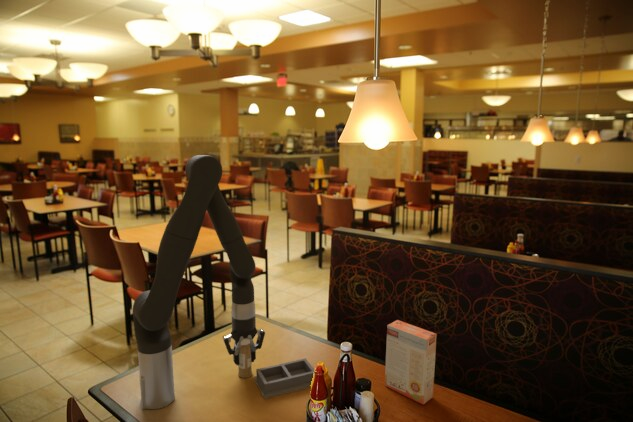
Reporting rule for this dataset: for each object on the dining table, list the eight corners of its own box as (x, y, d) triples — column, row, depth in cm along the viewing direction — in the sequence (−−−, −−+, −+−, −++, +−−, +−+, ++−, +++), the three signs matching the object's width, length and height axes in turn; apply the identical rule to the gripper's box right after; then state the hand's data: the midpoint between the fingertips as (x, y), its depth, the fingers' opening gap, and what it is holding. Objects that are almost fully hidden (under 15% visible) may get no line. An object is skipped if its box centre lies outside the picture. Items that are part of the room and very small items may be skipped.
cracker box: (433, 397, 127) (437, 333, 123) (423, 406, 123) (427, 340, 119) (394, 378, 137) (397, 318, 133) (383, 386, 133) (386, 324, 129)
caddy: (264, 398, 126) (264, 386, 125) (254, 379, 136) (254, 368, 135) (319, 384, 133) (319, 373, 132) (305, 367, 143) (305, 356, 142)
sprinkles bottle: (254, 375, 138) (253, 337, 135) (241, 379, 135) (240, 341, 133) (248, 369, 142) (247, 331, 139) (235, 373, 139) (234, 335, 137)
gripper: (223, 322, 128) (225, 373, 131) (268, 314, 134) (269, 363, 137) (218, 312, 135) (220, 361, 138) (261, 305, 141) (262, 352, 144)
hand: (244, 362), depth 138 cm, fingers closed on sprinkles bottle, 4 cm apart
